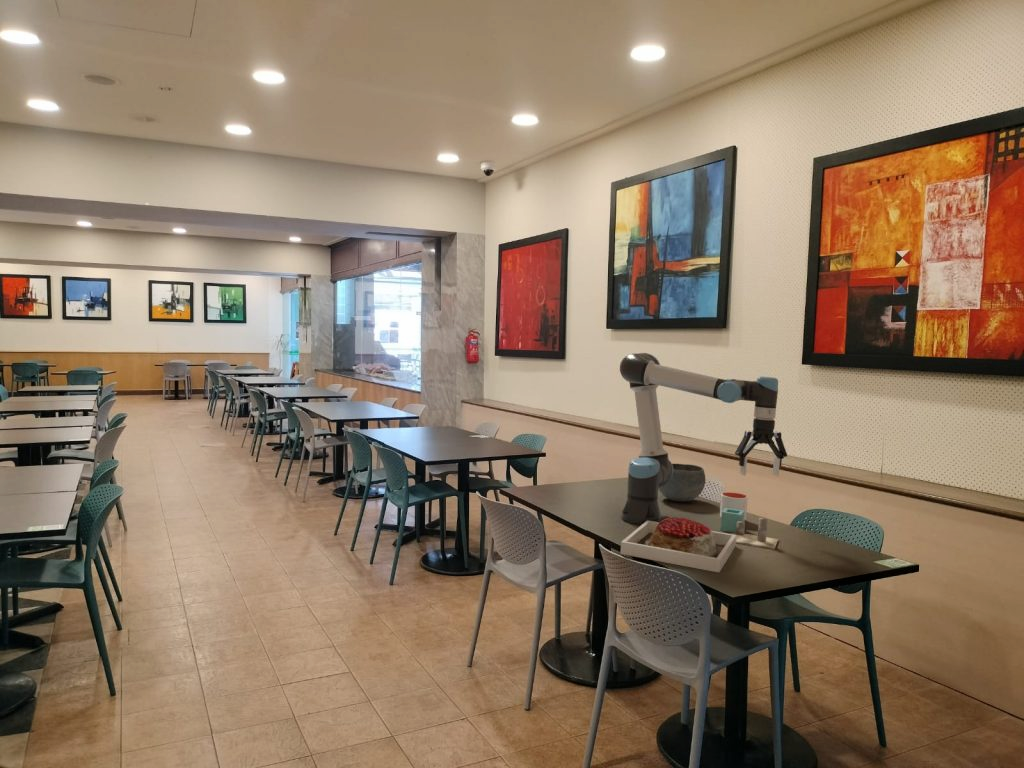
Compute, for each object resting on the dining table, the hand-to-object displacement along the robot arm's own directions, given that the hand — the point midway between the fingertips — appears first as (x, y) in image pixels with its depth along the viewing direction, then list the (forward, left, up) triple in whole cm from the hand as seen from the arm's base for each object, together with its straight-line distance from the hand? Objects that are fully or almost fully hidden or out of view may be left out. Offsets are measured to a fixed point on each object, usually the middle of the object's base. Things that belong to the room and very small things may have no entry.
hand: (759, 475), depth 263 cm
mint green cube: (-8, -3, -21) cm, 23 cm away
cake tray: (-19, -40, -21) cm, 49 cm away
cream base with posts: (+1, -14, -21) cm, 26 cm away
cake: (-19, -41, -22) cm, 50 cm away
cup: (-10, +12, -22) cm, 27 cm away
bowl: (-36, +32, -22) cm, 53 cm away
